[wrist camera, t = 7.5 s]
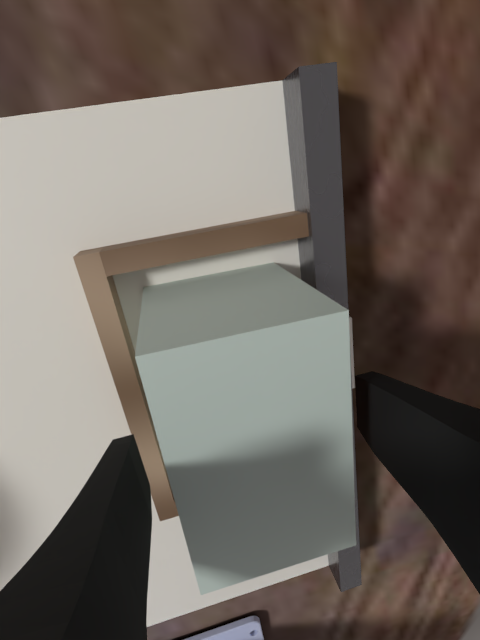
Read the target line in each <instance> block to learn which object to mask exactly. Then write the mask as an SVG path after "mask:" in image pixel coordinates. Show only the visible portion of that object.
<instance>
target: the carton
mask: <svg viewBox="0 0 480 640" xmlns="http://www.w3.org/2000/svg"><path fill="white" fill-rule="evenodd" d="M135 359H136V363H137V366H138V370H139V374H140V377H141V381H142V384H143V388H144V392H145V395H146V399H147V402H148V406H149V410H150V413H151V417H152V420H153V424H154V428H155V431H156V435H157V439H158V442H159V446H160V449H161V453H162V457H163V460H164V464H165V467H166V471H167V475H168V478H169V482H170V486H171V489H172V493H173V496H174V500H175V504H176V507H177V511H178V514H179V518H180V522H181V525H182V529H183V533H184V536H185V540H186V543H187V547H188V551H189V554H190V558H191V561H192V565H193V569H194V572H195V576H196V580H197V583H198V587H199V590H200V594H201V595H203V594H206V593H210V592H213V591H216V590H219V589H222V588H225V587H228V586H231V585H234V584H238V583H241V582H244V581H247V580H250V579H253V578H256V577H259V576H262V575H265V574H269V573H272V572H275V571H278V570H281V569H284V568H287V567H290V566H293V565H296V564H300V563H303V562H306V561H309V560H312V559H315V558H318V557H321V556H324V555H327V554H331V553H334V552H337V551H340V550H343V549H346V548H349V547H352V546H355V545H356V523H355V492H354V460H353V428H352V397H351V365H350V334H349V310H348V309H346V308H344V307H343V306H341V305H340V304H338V303H337V302H335V301H333V300H332V299H330V298H329V297H327V296H326V295H324V294H323V293H321V292H319V291H318V290H316V289H315V288H313V287H312V286H310V285H308V284H307V283H305V282H304V281H302V280H301V279H299V278H297V277H296V276H294V275H293V274H291V273H290V272H288V271H286V270H285V269H283V268H282V267H280V266H279V265H277V264H275V263H274V262H272V263H267V264H262V265H257V266H251V267H246V268H241V269H236V270H230V271H225V272H220V273H215V274H209V275H204V276H199V277H194V278H188V279H183V280H178V281H172V282H167V283H162V284H157V285H151V286H146V287H143V295H142V303H141V311H140V320H139V328H138V336H137V344H136V352H135Z"/></svg>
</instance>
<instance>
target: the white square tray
mask: <svg viewBox="0 0 480 640" xmlns="http://www.w3.org/2000/svg"><path fill="white" fill-rule="evenodd" d="M272 262H274V263H275V264H277V265H279V266H280V267H282V268H283V269H285V270H286V271H288V272H290V273H291V274H293V275H294V276H296V277H297V278H299V279H301V280H302V281H304V282H305V283H307V284H308V285H310V286H312V287H313V288H315V289H316V290H318V291H319V292H321V293H323V294H324V295H326V296H327V297H329V298H330V299H332V300H333V301H335V302H337V303H338V304H340V305H341V306H343V307H344V308H346V309H348V291H347V270H346V249H345V228H344V207H343V186H342V165H341V144H340V123H339V103H338V82H337V62H332V63H325V64H317V65H309V66H301V67H298V68H297V69H295V70H294V71H293V72H292V73H291V74H290V75H288V76H287V77H286V78H285V79H284V80H282V81H275V82H268V83H260V84H253V85H245V86H238V87H230V88H222V89H215V90H207V91H200V92H192V93H185V94H177V95H170V96H162V97H155V98H147V99H139V100H132V101H124V102H117V103H109V104H102V105H94V106H87V107H79V108H72V109H64V110H56V111H49V112H41V113H34V114H26V115H19V116H11V117H4V118H0V591H1V590H2V589H3V587H4V586H5V585H6V584H7V583H8V582H9V581H10V580H11V579H12V578H13V577H14V576H15V575H16V574H17V573H18V571H19V570H20V569H21V568H22V567H23V566H24V565H25V564H26V562H27V561H28V560H29V559H30V558H31V557H32V555H33V554H34V553H35V552H36V551H37V549H38V548H39V547H40V546H41V545H42V543H43V542H44V541H45V540H46V538H47V537H48V536H49V535H50V533H51V532H52V531H53V530H54V528H55V527H56V526H57V524H58V523H59V521H60V520H61V519H62V517H63V516H64V514H65V513H66V512H67V510H68V509H69V507H70V506H71V505H72V503H73V502H74V500H75V499H76V497H77V496H78V494H79V493H80V491H81V490H82V488H83V487H84V485H85V483H86V482H87V480H88V479H89V477H90V476H91V474H92V472H93V471H94V469H95V468H96V466H97V464H98V463H99V461H100V459H101V458H102V456H103V454H104V453H105V451H106V449H107V448H108V446H109V445H110V443H111V442H112V440H113V439H117V438H121V437H125V436H128V435H132V434H134V437H135V440H136V443H137V446H138V450H139V453H140V456H141V459H142V462H143V465H144V468H145V471H146V474H147V477H148V480H149V483H150V489H151V505H152V531H151V547H150V562H149V578H148V593H147V618H146V626H147V627H148V626H151V625H154V624H157V623H160V622H163V621H166V620H169V619H172V618H175V617H178V616H181V615H184V614H187V613H190V612H193V611H195V610H198V609H201V608H204V607H207V606H210V605H213V604H216V603H219V602H222V601H225V600H228V599H231V598H234V597H237V596H240V595H243V594H246V593H249V592H252V591H255V590H257V589H260V588H263V587H266V586H269V585H272V584H275V583H278V582H281V581H284V580H287V579H290V578H293V577H296V576H299V575H302V574H305V573H308V572H311V571H314V570H317V569H319V568H322V567H325V566H328V565H329V567H330V569H331V571H332V573H333V576H334V578H335V580H336V582H337V584H338V587H339V589H340V591H341V592H342V591H345V590H348V589H351V588H354V587H357V586H359V585H362V584H361V563H360V542H359V521H358V501H357V480H356V459H355V438H354V417H353V396H352V389H353V388H355V379H354V357H353V334H352V318H351V317H350V316H349V334H350V365H351V397H352V428H353V460H354V492H355V523H356V545H355V546H352V547H349V548H346V549H343V550H340V551H337V552H334V553H331V554H327V555H324V556H321V557H318V558H315V559H312V560H309V561H306V562H303V563H300V564H296V565H293V566H290V567H287V568H284V569H281V570H278V571H275V572H272V573H269V574H265V575H262V576H259V577H256V578H253V579H250V580H247V581H244V582H241V583H238V584H234V585H231V586H228V587H225V588H222V589H219V590H216V591H213V592H210V593H206V594H203V595H201V594H200V590H199V587H198V583H197V580H196V576H195V572H194V569H193V565H192V561H191V558H190V554H189V551H188V547H187V543H186V540H185V536H184V533H183V529H182V525H181V522H180V518H179V514H178V511H177V507H176V504H175V500H174V496H173V493H172V489H171V486H170V482H169V478H168V475H167V471H166V467H165V464H164V460H163V457H162V453H161V449H160V446H159V442H158V439H157V435H156V431H155V428H154V424H153V420H152V417H151V413H150V410H149V406H148V402H147V399H146V395H145V392H144V388H143V384H142V381H141V377H140V374H139V370H138V366H137V363H136V359H135V352H136V344H137V336H138V328H139V320H140V311H141V303H142V295H143V287H146V286H151V285H157V284H162V283H167V282H172V281H178V280H183V279H188V278H194V277H199V276H204V275H209V274H215V273H220V272H225V271H230V270H236V269H241V268H246V267H251V266H257V265H262V264H267V263H272Z"/></svg>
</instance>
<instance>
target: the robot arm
mask: <svg viewBox="0 0 480 640" xmlns="http://www.w3.org/2000/svg"><path fill="white" fill-rule="evenodd" d="M355 385H356V406H357V427H358V429H359V430H360V432H361V434H362V435H363V437H364V438H365V440H366V442H367V443H368V445H369V446H370V448H371V449H372V451H373V452H374V454H375V455H376V456H377V457H378V459H379V460H380V461H381V462H382V463H383V465H384V466H385V467H386V468H387V470H388V471H389V472H390V473H391V474H392V476H393V477H394V478H395V479H396V480H397V481H398V483H399V484H400V485H401V486H402V487H403V489H404V490H405V491H406V492H407V493H408V495H409V496H410V497H411V498H412V499H413V501H414V502H415V503H416V504H417V505H418V506H419V508H420V509H421V510H422V511H423V513H424V514H425V515H426V516H427V518H428V519H429V520H430V522H431V523H432V524H433V526H434V527H435V528H436V530H437V531H438V533H439V534H440V536H441V537H442V539H443V540H444V541H445V543H446V544H447V546H448V547H449V549H450V550H451V552H452V553H453V554H454V556H455V557H456V559H457V560H458V562H459V563H460V565H461V566H462V568H463V569H464V571H465V573H466V574H467V576H468V577H469V579H470V580H471V582H472V583H473V585H474V586H475V588H476V589H477V591H478V592H479V594H480V409H478V408H475V407H471V406H468V405H465V404H462V403H459V402H456V401H453V400H450V399H447V398H444V397H441V396H438V395H435V394H433V393H430V392H427V391H425V390H422V389H419V388H417V387H414V386H411V385H409V384H406V383H404V382H401V381H398V380H396V379H393V378H390V377H388V376H385V375H382V374H379V373H376V372H368V373H364V374H360V375H357V376H355ZM151 531H152V505H151V489H150V483H149V480H148V477H147V474H146V471H145V468H144V465H143V462H142V459H141V456H140V453H139V450H138V446H137V443H136V440H135V437H134V434H132V435H128V436H125V437H121V438H117V439H113V440H112V442H111V443H110V445H109V446H108V448H107V449H106V451H105V453H104V454H103V456H102V458H101V459H100V461H99V463H98V464H97V466H96V468H95V469H94V471H93V472H92V474H91V476H90V477H89V479H88V480H87V482H86V483H85V485H84V487H83V488H82V490H81V491H80V493H79V494H78V496H77V497H76V499H75V500H74V502H73V503H72V505H71V506H70V507H69V509H68V510H67V512H66V513H65V514H64V516H63V517H62V519H61V520H60V521H59V523H58V524H57V526H56V527H55V528H54V530H53V531H52V532H51V533H50V535H49V536H48V537H47V538H46V540H45V541H44V542H43V543H42V545H41V546H40V547H39V548H38V549H37V551H36V552H35V553H34V554H33V555H32V557H31V558H30V559H29V560H28V561H27V562H26V564H25V565H24V566H23V567H22V568H21V569H20V570H19V571H18V573H17V574H16V575H15V576H14V577H13V578H12V579H11V580H10V581H9V582H8V583H7V584H6V585H5V586H4V587H3V589H2V590H1V591H0V640H147V626H146V618H147V593H148V578H149V562H150V547H151ZM183 640H264V637H263V633H262V628H261V624H260V619H259V617H257V616H249V617H246V618H243V619H240V620H238V621H235V622H232V623H229V624H226V625H223V626H220V627H217V628H215V629H212V630H209V631H206V632H203V633H200V634H197V635H194V636H192V637H189V638H186V639H183Z"/></svg>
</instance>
